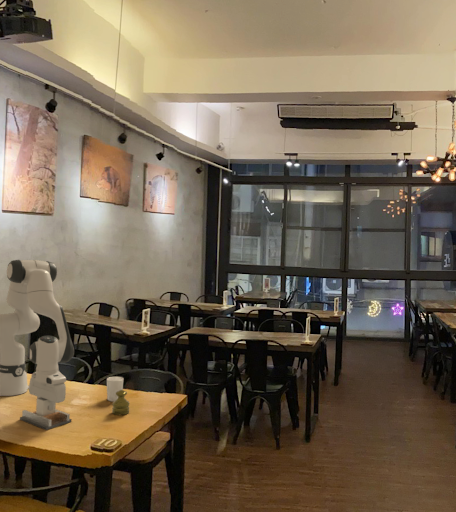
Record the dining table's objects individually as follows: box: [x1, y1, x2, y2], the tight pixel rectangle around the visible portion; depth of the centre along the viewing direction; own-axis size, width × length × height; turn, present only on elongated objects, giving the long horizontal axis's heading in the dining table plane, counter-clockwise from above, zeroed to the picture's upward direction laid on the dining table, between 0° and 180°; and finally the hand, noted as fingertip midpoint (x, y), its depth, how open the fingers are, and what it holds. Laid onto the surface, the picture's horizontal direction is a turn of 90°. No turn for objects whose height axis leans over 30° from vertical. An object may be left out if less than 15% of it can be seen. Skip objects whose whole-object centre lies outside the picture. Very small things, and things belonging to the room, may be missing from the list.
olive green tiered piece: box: [111, 389, 130, 416], centre depth 215 cm, size 7×8×10 cm
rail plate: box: [19, 408, 72, 431], centre depth 202 cm, size 18×12×4 cm, turn 56°
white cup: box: [106, 376, 124, 402], centre depth 233 cm, size 8×8×10 cm
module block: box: [35, 398, 57, 416], centre depth 202 cm, size 4×6×7 cm
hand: (45, 408), depth 202 cm, fingers closed on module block, 4 cm apart
